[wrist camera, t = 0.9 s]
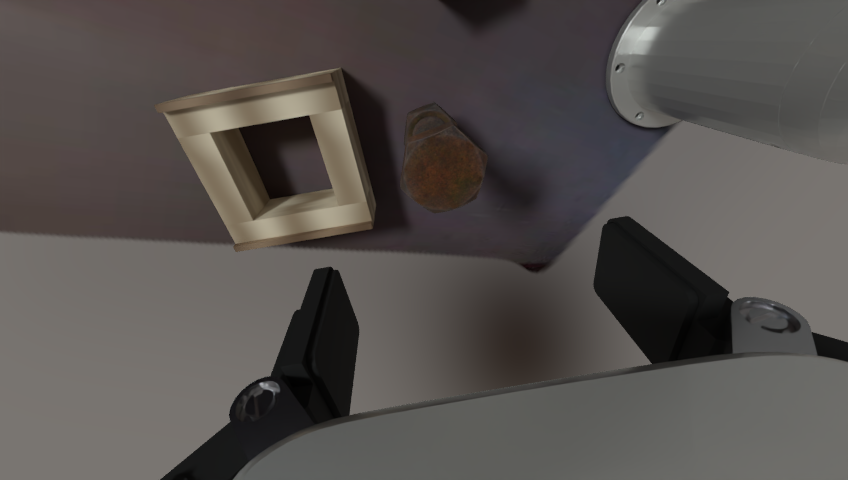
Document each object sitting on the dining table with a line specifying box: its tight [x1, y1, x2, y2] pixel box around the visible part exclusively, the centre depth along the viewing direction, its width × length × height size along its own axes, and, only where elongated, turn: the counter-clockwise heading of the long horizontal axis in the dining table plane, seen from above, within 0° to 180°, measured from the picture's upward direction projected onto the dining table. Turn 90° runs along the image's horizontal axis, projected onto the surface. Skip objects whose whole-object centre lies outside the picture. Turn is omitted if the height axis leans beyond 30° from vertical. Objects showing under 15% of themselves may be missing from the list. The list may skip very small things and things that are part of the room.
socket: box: [154, 68, 376, 252], centre depth 31 cm, size 14×14×6 cm
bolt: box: [400, 102, 488, 213], centre depth 26 cm, size 6×5×15 cm
